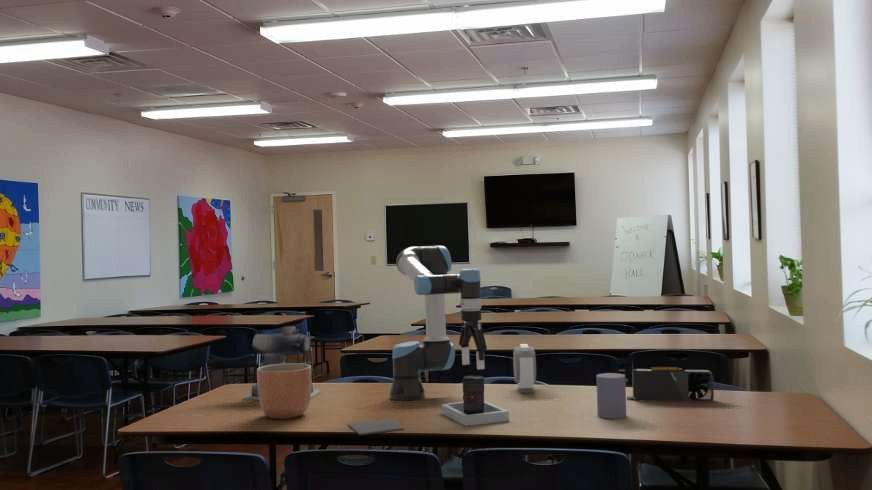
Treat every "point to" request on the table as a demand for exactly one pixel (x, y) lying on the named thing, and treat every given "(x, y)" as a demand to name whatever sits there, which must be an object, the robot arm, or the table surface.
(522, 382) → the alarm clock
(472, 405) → the camera lens
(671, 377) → the graphics card
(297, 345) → the grinder
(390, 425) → the mat
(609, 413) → the container
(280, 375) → the planter
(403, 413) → the table surface
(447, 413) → the bin
